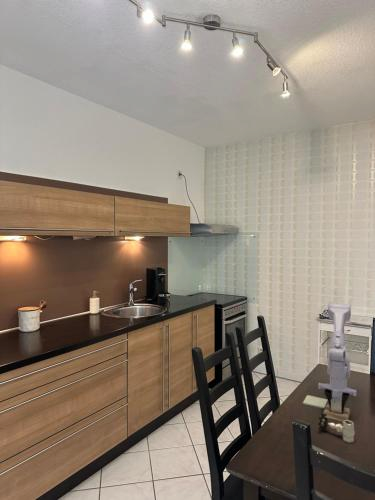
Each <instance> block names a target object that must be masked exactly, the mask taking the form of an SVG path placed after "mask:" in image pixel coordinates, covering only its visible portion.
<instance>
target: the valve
mask: <svg viewBox="0 0 375 500" xmlns="http://www.w3.org/2000/svg"><path fill="white" fill-rule="evenodd" d="M325 416H327V414H325V413H323V412H321V414H320V416H319V417H318V420H319V422H318V423H317V426H318V430H319V431H320V432H323V431H325V430H326V429H327V428H328V427H330V428H332V429H335V430H336V432H337V433H342V440H343V441H344V442H347V443H350V444H351V443H354V442H355V440H354V439H355V438H354V436H355V433H356V432H355V424H354V422H353V421H352V420H349V419H348V420H344V421H343V422H342V424H341V423H339V422H338V423H337V424H336V423H334V422H330V421H329V420H330V419H329V418H326V417H325Z"/></svg>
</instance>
